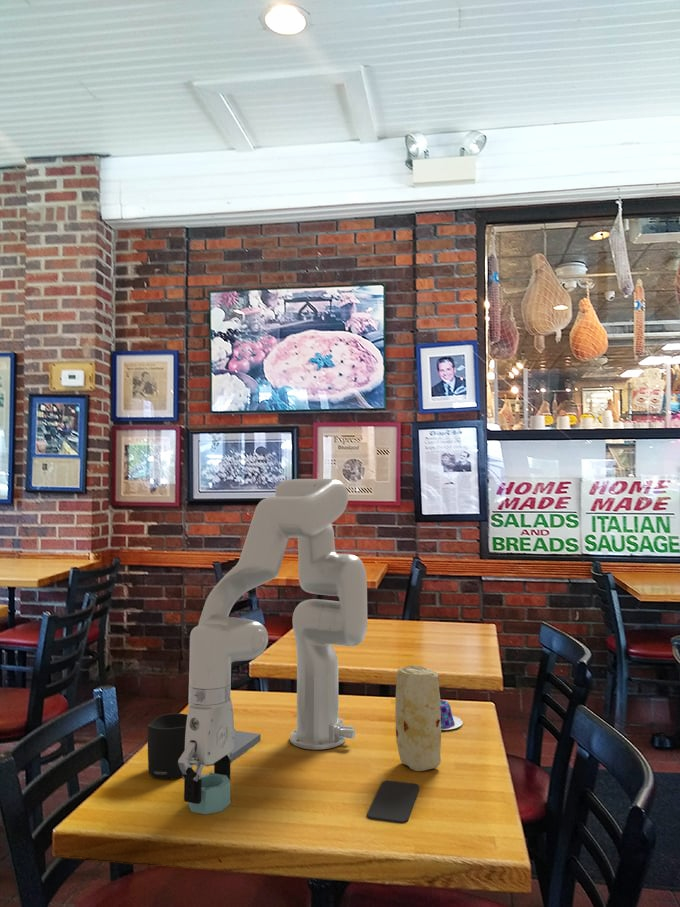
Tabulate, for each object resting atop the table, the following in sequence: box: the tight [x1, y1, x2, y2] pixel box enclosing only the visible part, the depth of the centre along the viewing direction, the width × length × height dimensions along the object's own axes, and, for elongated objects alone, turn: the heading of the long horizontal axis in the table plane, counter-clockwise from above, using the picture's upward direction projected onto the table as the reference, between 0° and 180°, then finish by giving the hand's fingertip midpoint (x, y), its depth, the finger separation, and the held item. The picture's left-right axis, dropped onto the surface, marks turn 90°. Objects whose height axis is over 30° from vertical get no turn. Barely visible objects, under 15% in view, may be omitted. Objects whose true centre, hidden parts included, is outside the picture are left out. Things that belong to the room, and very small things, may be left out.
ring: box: [187, 772, 231, 815], centre depth 121 cm, size 7×7×4 cm
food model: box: [394, 665, 442, 772], centre depth 139 cm, size 10×7×20 cm
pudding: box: [440, 699, 463, 731], centre depth 164 cm, size 12×12×5 cm
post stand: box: [230, 730, 262, 763], centre depth 149 cm, size 14×14×8 cm
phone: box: [366, 780, 420, 824], centre depth 122 cm, size 7×1×15 cm
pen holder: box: [146, 712, 188, 780], centre depth 136 cm, size 9×9×10 cm
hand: (207, 790), depth 121 cm, fingers open, 9 cm apart
